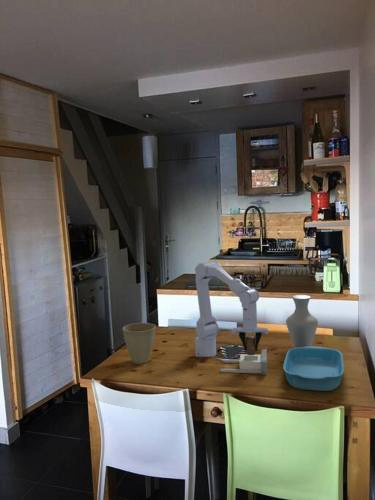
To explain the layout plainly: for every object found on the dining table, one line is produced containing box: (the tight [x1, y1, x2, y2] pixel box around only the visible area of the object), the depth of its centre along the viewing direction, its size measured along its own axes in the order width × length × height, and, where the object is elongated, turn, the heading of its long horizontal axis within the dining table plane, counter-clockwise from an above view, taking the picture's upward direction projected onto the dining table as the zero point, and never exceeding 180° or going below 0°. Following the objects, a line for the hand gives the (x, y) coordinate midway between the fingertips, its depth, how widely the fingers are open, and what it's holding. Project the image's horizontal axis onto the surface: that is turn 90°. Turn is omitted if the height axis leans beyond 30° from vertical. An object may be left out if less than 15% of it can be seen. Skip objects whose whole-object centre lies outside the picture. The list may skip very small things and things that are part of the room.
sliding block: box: [238, 353, 262, 370], centre depth 183 cm, size 9×9×4 cm
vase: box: [285, 294, 319, 348], centre depth 205 cm, size 14×14×25 cm
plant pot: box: [122, 322, 157, 365], centre depth 199 cm, size 15×15×16 cm
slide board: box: [220, 358, 262, 374], centre depth 184 cm, size 20×16×2 cm
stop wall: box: [261, 348, 268, 376], centre depth 182 cm, size 2×15×6 cm, turn 169°
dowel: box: [245, 335, 257, 355], centre depth 182 cm, size 4×4×7 cm
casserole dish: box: [282, 345, 345, 392], centre depth 173 cm, size 37×22×7 cm, turn 163°
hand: (250, 349), depth 182 cm, fingers closed on dowel, 4 cm apart
